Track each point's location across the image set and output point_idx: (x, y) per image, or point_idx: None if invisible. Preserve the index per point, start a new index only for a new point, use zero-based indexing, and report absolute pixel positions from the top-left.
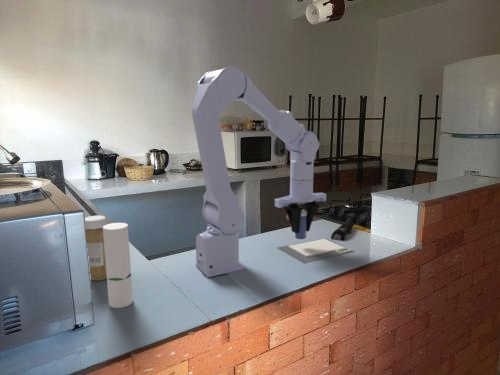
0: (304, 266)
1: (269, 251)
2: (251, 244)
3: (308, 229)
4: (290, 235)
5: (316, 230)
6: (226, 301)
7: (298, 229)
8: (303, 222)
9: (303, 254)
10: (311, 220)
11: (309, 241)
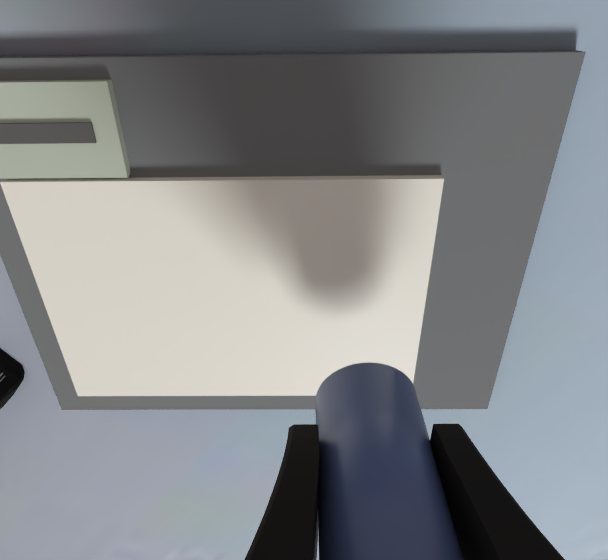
0: (601, 15)
1: (549, 391)
2: (542, 502)
3: (307, 437)
4: (244, 518)
5: (44, 520)
6: None
7: (456, 453)
8: (411, 523)
9: (436, 220)
10: (277, 531)
11: (205, 405)
